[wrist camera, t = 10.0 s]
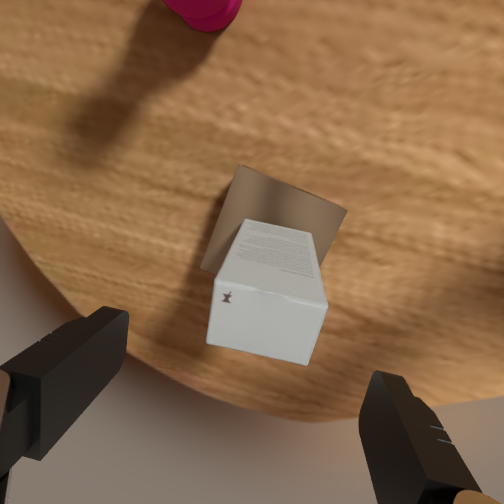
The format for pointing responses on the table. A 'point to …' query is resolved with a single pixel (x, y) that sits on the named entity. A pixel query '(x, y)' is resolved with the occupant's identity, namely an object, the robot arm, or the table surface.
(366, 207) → the table surface
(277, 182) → the walnut block
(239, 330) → the skincare box
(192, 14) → the pepper mill
